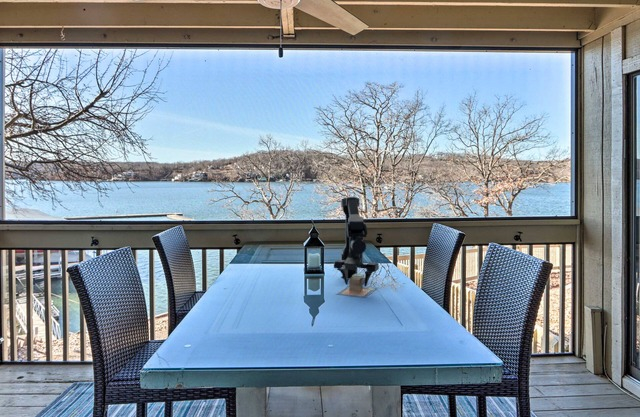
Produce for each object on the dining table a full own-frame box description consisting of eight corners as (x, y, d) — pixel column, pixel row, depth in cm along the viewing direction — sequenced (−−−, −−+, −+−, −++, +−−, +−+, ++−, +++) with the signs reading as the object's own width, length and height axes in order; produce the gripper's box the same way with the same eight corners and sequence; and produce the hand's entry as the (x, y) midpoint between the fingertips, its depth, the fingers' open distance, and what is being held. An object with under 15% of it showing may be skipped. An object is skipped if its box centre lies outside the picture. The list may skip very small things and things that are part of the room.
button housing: (349, 284, 194) (349, 279, 194) (354, 281, 199) (354, 276, 199) (362, 285, 191) (362, 280, 191) (366, 282, 197) (366, 277, 197)
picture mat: (336, 294, 178) (336, 293, 178) (348, 285, 191) (348, 285, 191) (365, 297, 172) (365, 297, 172) (376, 288, 186) (376, 288, 186)
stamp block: (352, 289, 184) (352, 276, 184) (362, 290, 182) (362, 277, 182) (349, 292, 180) (349, 278, 179) (359, 293, 178) (359, 279, 178)
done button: (352, 279, 194) (352, 275, 194) (355, 277, 198) (355, 273, 198) (361, 280, 192) (361, 276, 192) (364, 278, 196) (364, 274, 196)
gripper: (328, 251, 176) (328, 287, 177) (371, 254, 168) (371, 292, 170) (338, 246, 186) (338, 281, 187) (379, 249, 179) (379, 285, 180)
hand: (356, 285), depth 181 cm, fingers open, 8 cm apart
